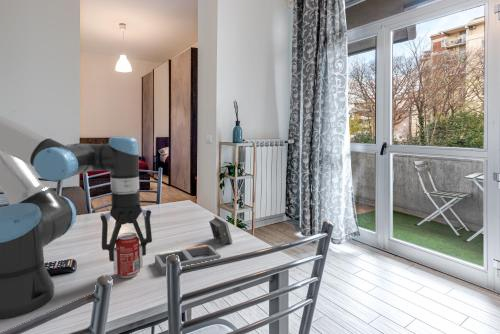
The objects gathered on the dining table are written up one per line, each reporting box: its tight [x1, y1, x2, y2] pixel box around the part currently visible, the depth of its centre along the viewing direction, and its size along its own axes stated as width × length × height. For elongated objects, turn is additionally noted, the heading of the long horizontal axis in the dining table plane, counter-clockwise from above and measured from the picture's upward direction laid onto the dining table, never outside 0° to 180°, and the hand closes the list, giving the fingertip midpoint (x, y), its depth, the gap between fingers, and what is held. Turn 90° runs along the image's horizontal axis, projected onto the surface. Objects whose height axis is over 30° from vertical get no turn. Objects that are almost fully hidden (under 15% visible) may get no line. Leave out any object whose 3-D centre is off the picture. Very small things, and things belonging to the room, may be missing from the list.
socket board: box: [154, 244, 221, 276], centre depth 100 cm, size 19×9×3 cm, turn 118°
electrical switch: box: [209, 215, 233, 246], centre depth 118 cm, size 9×5×9 cm, turn 32°
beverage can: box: [115, 232, 141, 279], centre depth 91 cm, size 6×6×12 cm
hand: (128, 268), depth 91 cm, fingers closed on beverage can, 6 cm apart
